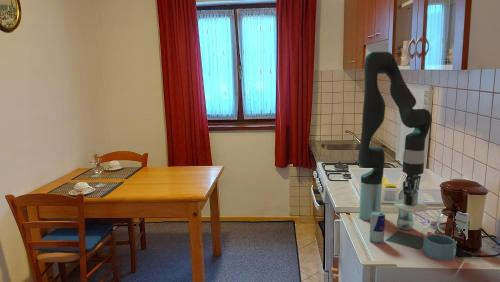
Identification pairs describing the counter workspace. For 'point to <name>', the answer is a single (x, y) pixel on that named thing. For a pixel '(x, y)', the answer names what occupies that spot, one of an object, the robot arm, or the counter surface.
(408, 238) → the mat
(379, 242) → the energy drink
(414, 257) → the counter surface
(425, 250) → the bowl
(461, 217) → the syrup box
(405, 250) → the counter surface
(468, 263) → the counter surface
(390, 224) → the counter surface
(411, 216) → the plastic bottle
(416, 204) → the lid
